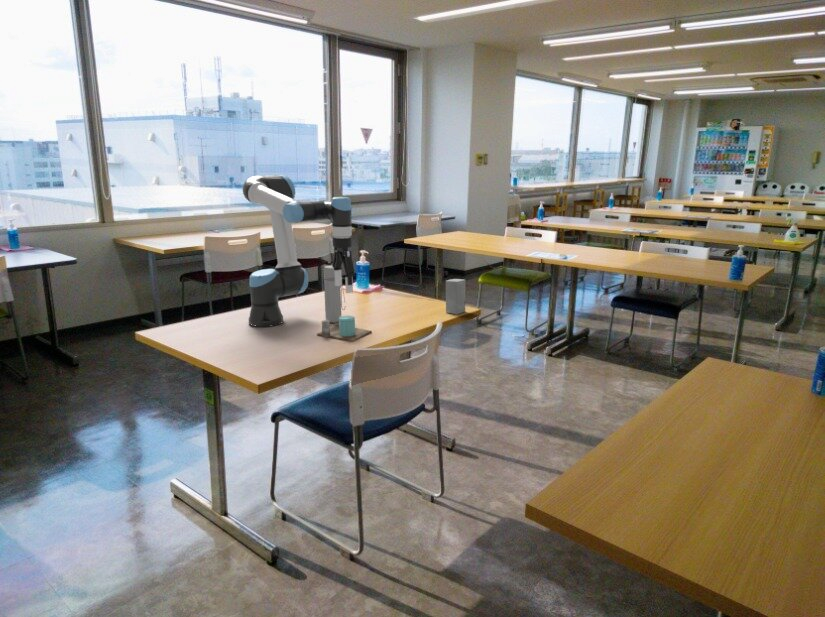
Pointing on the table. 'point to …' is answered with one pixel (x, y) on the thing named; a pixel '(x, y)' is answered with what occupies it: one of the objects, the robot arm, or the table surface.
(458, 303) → the skincare box
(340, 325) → the cap
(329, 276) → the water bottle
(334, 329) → the stud board
